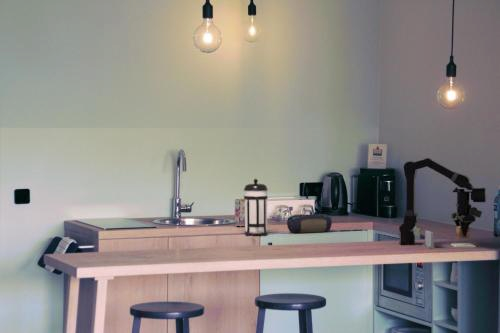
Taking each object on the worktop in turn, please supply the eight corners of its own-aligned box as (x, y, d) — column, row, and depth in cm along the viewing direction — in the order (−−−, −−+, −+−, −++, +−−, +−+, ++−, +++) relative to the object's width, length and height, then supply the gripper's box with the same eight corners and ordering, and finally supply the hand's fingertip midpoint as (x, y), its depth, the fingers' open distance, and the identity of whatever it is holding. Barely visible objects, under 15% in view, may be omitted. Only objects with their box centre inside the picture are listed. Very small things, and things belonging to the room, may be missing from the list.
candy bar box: (239, 227, 473) (239, 199, 472) (234, 227, 477) (234, 199, 476) (254, 226, 480) (254, 198, 479) (249, 225, 484) (248, 198, 483)
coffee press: (234, 235, 432) (234, 179, 431) (256, 232, 443) (255, 178, 443) (257, 237, 420) (257, 179, 419) (279, 235, 431) (278, 178, 430)
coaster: (456, 247, 375) (456, 245, 375) (451, 245, 384) (451, 243, 384) (475, 247, 375) (475, 245, 375) (469, 245, 384) (469, 243, 384)
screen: (429, 248, 373) (429, 233, 373) (423, 245, 384) (423, 230, 384) (435, 248, 374) (435, 232, 373) (429, 245, 385) (429, 230, 384)
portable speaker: (292, 234, 435) (292, 216, 434) (285, 232, 444) (285, 214, 444) (334, 232, 443) (334, 214, 443) (327, 230, 453) (327, 213, 452)
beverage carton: (404, 239, 411) (404, 226, 411) (399, 235, 431) (398, 222, 430) (420, 239, 411) (420, 226, 411) (414, 235, 430) (414, 222, 430)
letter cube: (459, 238, 377) (459, 227, 377) (456, 237, 382) (456, 226, 382) (470, 238, 377) (470, 226, 377) (466, 236, 382) (466, 225, 382)
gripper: (486, 203, 370) (486, 237, 370) (474, 200, 389) (473, 233, 389) (462, 203, 370) (462, 237, 370) (451, 200, 388) (450, 233, 389)
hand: (463, 235), depth 379 cm, fingers closed on letter cube, 5 cm apart
